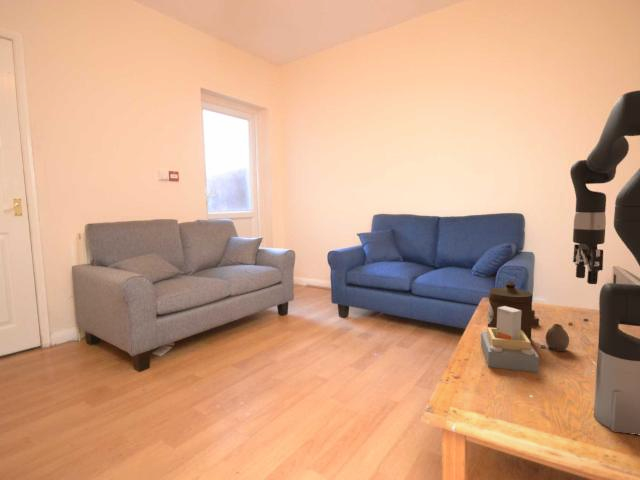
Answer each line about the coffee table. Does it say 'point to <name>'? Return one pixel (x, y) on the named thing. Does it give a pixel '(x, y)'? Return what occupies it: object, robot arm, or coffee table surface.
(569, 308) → the coffee table surface
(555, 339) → the vase
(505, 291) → the wooden container
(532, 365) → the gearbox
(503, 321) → the skincare box
